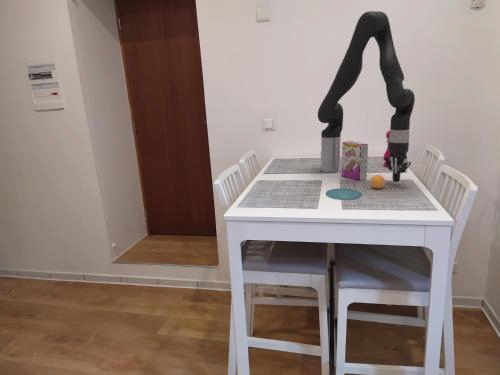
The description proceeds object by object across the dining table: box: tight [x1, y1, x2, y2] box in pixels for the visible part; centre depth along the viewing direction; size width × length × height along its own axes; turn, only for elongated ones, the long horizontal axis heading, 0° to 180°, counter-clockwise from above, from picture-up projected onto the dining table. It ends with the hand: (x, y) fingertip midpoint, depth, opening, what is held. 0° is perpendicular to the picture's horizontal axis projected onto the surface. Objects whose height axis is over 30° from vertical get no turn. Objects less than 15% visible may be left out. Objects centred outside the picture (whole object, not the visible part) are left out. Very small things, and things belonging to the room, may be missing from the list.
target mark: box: [325, 187, 363, 201], centre depth 134 cm, size 14×14×1 cm
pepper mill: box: [382, 130, 390, 168], centre depth 169 cm, size 7×7×20 cm
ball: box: [370, 174, 386, 189], centre depth 138 cm, size 6×6×6 cm
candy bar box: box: [341, 140, 369, 182], centre depth 153 cm, size 11×5×16 cm, turn 31°
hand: (396, 181), depth 141 cm, fingers closed
